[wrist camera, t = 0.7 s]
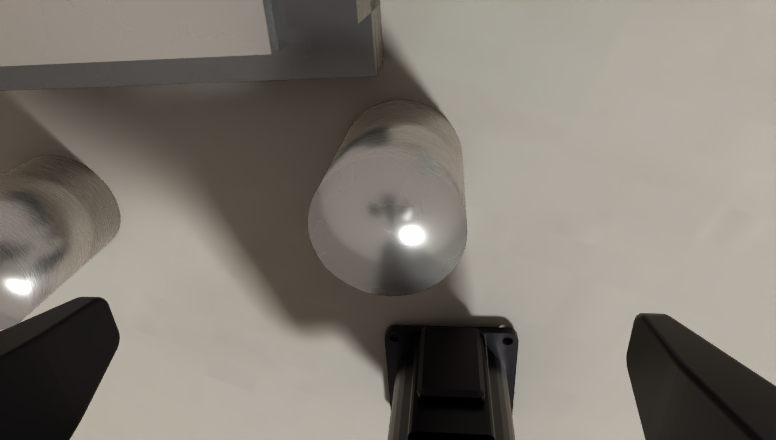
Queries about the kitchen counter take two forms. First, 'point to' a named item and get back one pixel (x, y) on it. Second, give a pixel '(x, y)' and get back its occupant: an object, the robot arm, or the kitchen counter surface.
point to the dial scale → (185, 41)
